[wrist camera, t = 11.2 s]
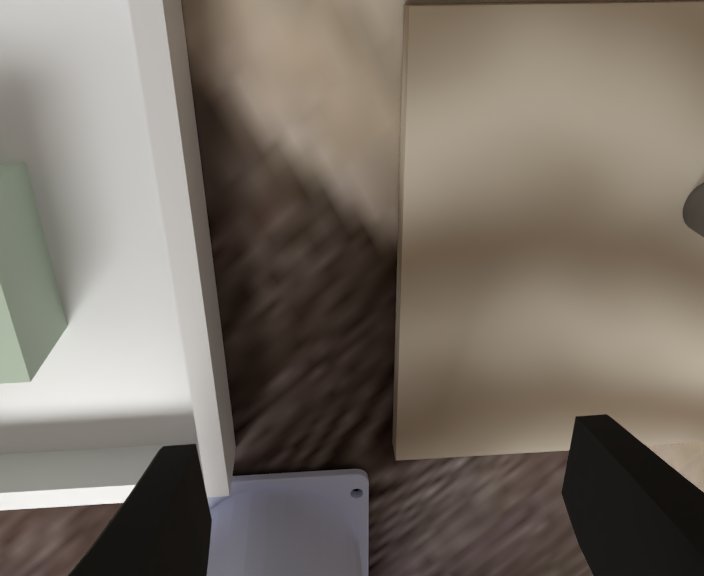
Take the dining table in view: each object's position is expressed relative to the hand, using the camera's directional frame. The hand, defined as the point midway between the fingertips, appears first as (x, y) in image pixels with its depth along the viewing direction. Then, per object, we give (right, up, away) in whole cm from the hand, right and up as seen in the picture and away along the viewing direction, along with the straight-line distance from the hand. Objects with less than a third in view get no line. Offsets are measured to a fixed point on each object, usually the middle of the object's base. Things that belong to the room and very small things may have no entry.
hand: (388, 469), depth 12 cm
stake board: (+8, +5, +10) cm, 13 cm away
